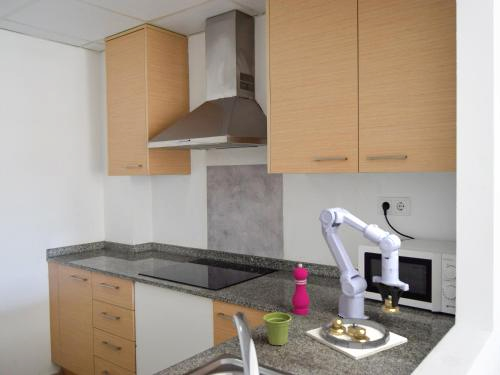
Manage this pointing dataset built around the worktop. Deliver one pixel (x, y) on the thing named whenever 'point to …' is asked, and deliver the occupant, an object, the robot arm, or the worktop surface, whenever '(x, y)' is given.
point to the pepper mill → (300, 291)
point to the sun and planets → (353, 330)
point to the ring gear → (357, 344)
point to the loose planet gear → (389, 307)
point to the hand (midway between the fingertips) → (390, 305)
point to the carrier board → (352, 353)
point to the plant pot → (277, 327)
